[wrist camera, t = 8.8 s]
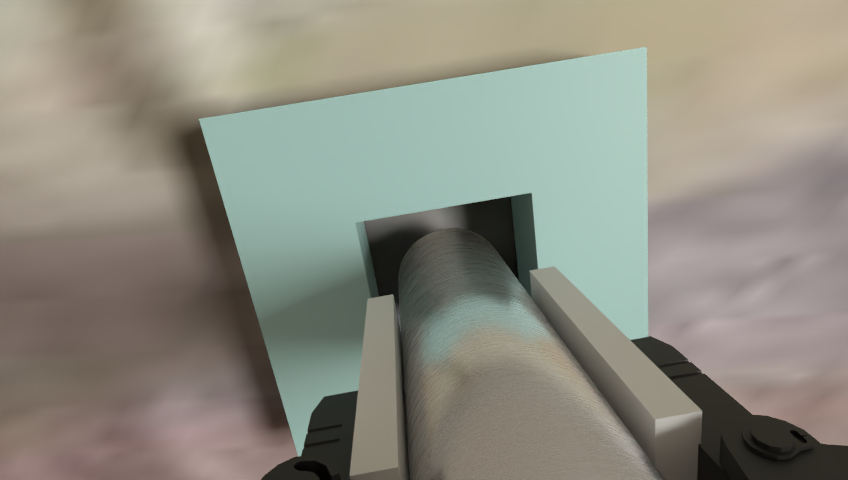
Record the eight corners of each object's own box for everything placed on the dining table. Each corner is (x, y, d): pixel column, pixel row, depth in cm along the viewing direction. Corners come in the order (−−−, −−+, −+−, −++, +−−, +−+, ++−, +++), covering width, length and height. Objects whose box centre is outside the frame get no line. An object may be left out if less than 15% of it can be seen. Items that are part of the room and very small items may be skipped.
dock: (316, 427, 21) (305, 480, 18) (231, 116, 17) (198, 118, 14) (613, 374, 21) (648, 416, 18) (603, 56, 17) (646, 46, 14)
